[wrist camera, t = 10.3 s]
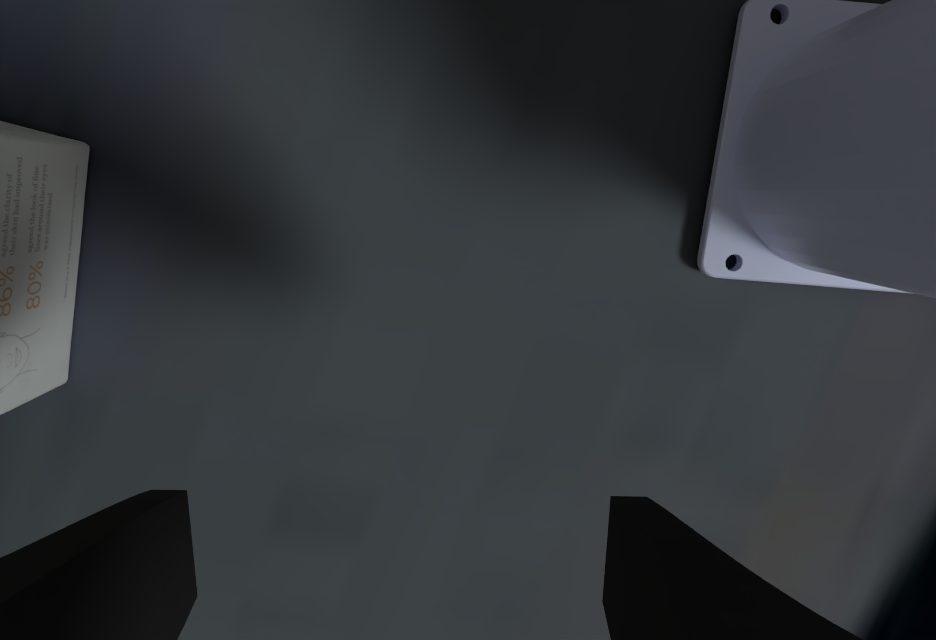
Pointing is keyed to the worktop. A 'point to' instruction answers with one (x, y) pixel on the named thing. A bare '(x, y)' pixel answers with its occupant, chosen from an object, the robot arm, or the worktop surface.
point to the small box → (38, 258)
